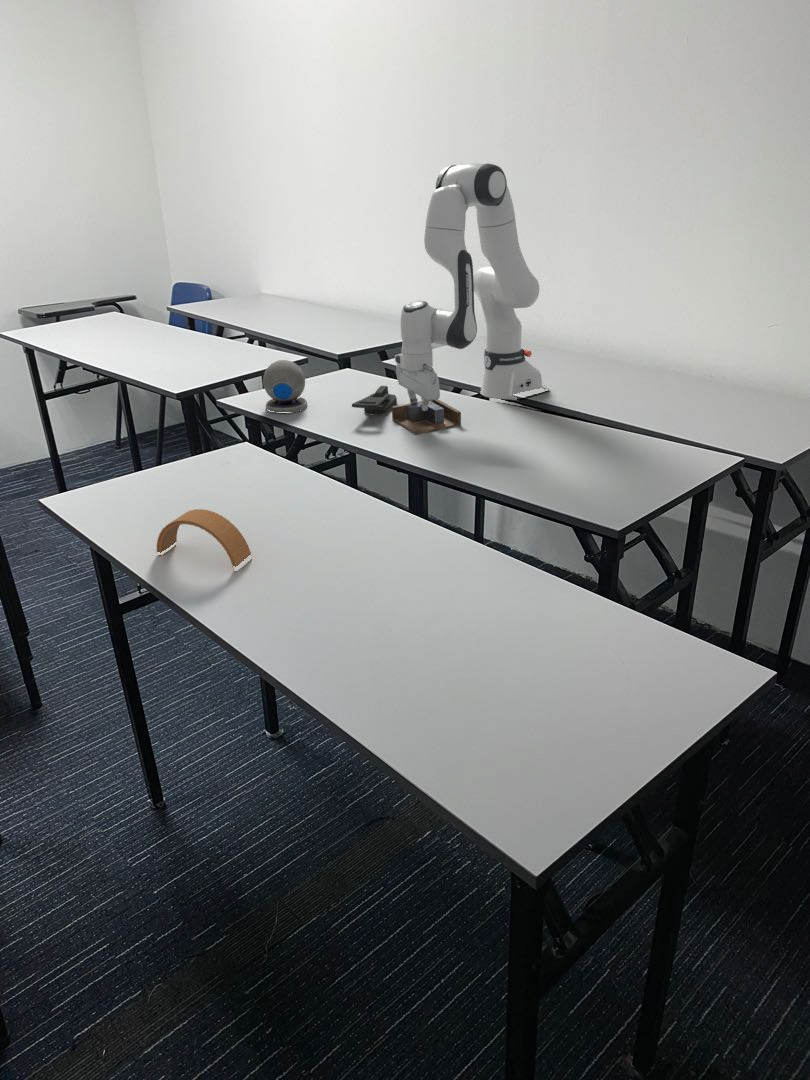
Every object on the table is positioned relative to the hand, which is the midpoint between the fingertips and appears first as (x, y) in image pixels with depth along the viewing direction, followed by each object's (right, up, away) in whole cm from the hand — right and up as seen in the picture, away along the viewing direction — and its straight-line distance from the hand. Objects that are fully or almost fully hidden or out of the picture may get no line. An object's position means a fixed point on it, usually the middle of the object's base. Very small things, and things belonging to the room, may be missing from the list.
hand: (419, 407), depth 240 cm
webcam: (-41, +3, +18) cm, 45 cm away
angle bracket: (+2, -4, 0) cm, 5 cm away
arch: (-46, -43, -69) cm, 93 cm away
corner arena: (+2, -4, +2) cm, 5 cm away
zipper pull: (-13, 0, +12) cm, 18 cm away
